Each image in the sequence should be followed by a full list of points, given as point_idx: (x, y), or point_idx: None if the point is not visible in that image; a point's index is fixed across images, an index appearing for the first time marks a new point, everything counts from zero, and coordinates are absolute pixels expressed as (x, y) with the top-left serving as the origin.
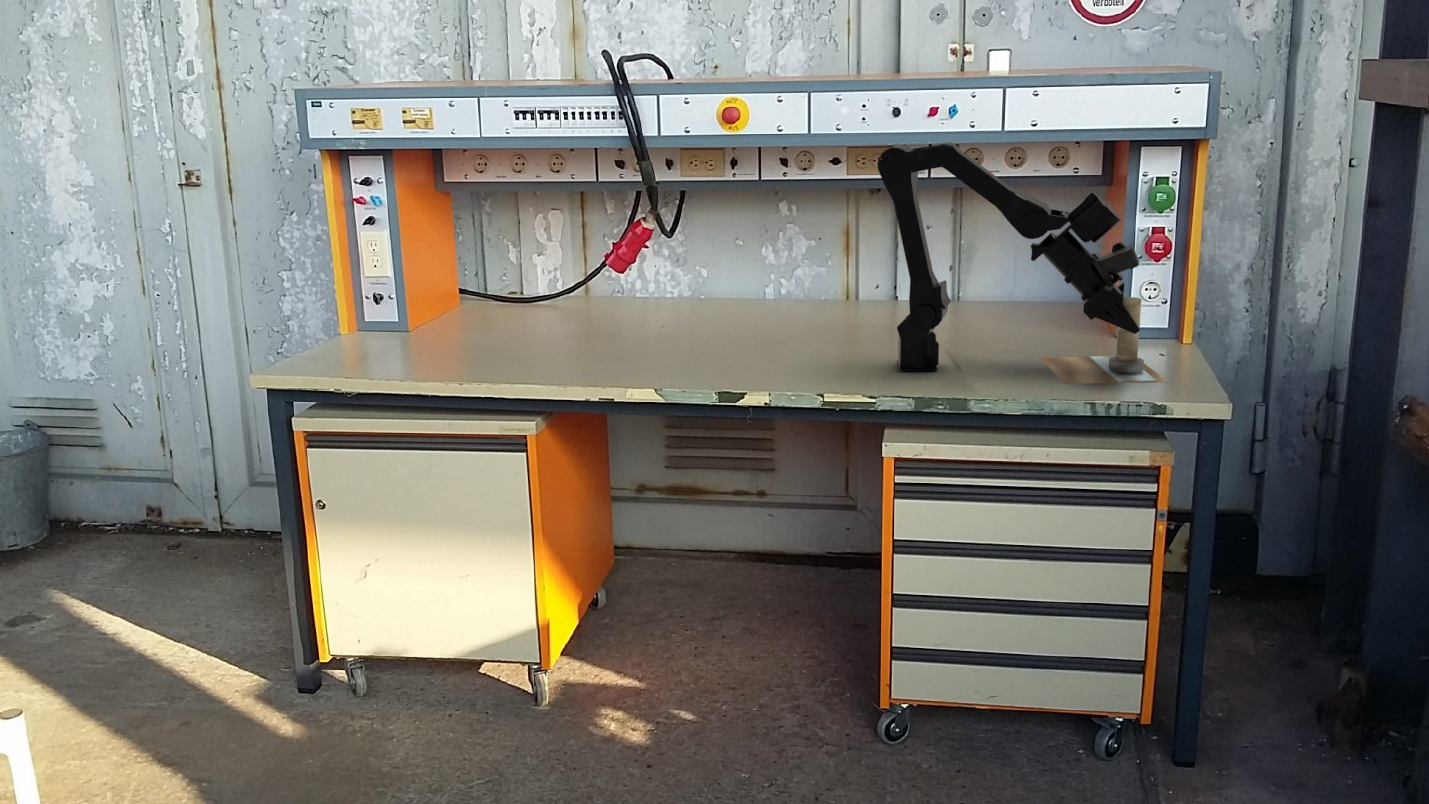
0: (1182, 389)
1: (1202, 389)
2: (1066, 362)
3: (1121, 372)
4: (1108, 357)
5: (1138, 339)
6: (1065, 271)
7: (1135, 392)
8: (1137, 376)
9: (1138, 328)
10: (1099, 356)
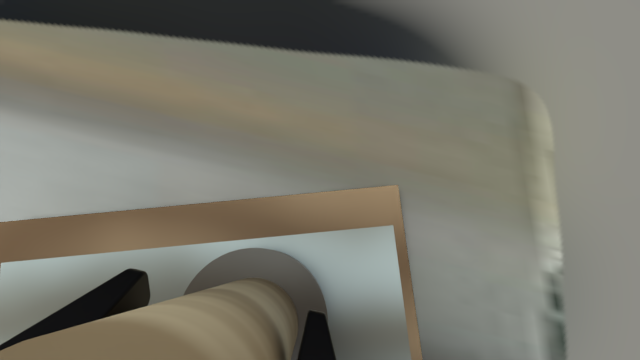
0: (374, 141)
1: (369, 82)
2: None
3: None
4: None
5: (250, 287)
6: None
7: (427, 307)
8: (340, 286)
9: (328, 325)
10: None
